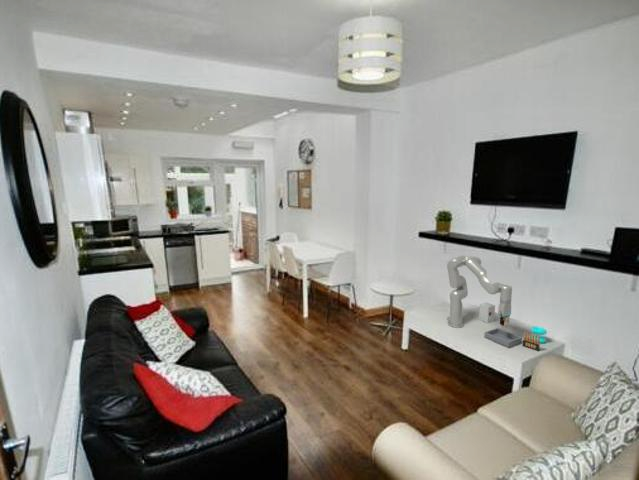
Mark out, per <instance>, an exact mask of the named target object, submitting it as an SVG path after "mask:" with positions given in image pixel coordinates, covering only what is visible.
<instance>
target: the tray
mask: <svg viewBox="0 0 639 480" xmlns="http://www.w3.org/2000/svg"><path fill="white" fill-rule="evenodd" d="M483 336H484V337H483V338H485V339H487V340H489V341H491V342H494V343H496V344H498V345H501V346H502V347H505V348H506V349H510V348H512V347H516V346H519V345H520V344H523V337H522V336H519V335H517V334H514V333H512V332H510V331H506V330H505V329H502V328H499V327H496V328H493V329H490V330H488V331H484V335H483Z"/></svg>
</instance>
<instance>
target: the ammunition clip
mask: <svg viewBox="0 0 639 480" xmlns="http://www.w3.org/2000/svg"><path fill="white" fill-rule="evenodd" d="M534 335H535V339H534ZM537 335H538V334H535V333H532V332H527V331H526V330H525V331H524V333H523V337H522V344H521V345H522V347H525V348H526V349H529V350H532V351H533V350H534V351H536V352H539V351H540V344H541V343H540V337H539V335H538V339H537ZM531 336H532V339H531Z"/></svg>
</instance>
